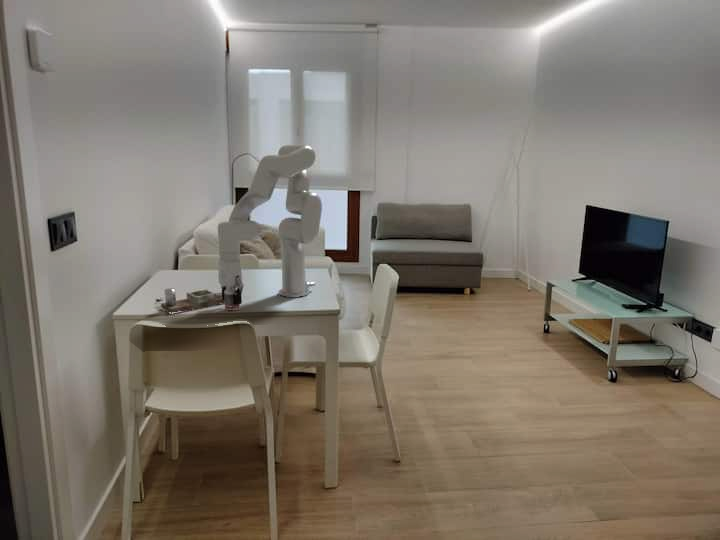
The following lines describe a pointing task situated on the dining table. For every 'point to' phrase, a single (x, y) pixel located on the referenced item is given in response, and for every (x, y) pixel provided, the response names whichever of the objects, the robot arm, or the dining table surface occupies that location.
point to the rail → (196, 301)
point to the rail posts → (170, 297)
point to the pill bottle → (230, 299)
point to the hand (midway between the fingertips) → (231, 301)
